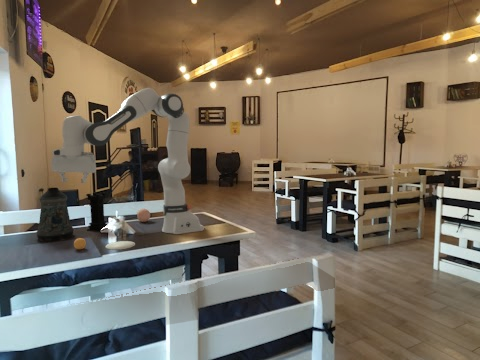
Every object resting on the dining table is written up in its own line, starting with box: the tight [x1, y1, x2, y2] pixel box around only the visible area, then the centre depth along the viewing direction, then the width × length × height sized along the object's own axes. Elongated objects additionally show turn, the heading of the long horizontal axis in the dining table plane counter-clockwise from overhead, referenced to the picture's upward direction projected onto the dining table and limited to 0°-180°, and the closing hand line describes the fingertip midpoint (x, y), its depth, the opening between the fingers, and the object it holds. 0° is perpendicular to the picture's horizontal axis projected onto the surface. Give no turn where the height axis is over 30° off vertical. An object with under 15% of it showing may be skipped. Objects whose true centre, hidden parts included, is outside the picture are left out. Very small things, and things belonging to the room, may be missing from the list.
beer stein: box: [36, 187, 74, 243], centre depth 176 cm, size 16×19×25 cm
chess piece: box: [85, 191, 108, 232], centre depth 192 cm, size 8×8×20 cm
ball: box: [73, 237, 87, 250], centre depth 156 cm, size 5×5×5 cm
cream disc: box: [105, 240, 136, 251], centre depth 161 cm, size 13×13×1 cm
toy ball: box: [136, 208, 151, 223], centre depth 210 cm, size 8×8×8 cm
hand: (74, 182), depth 159 cm, fingers open, 8 cm apart
